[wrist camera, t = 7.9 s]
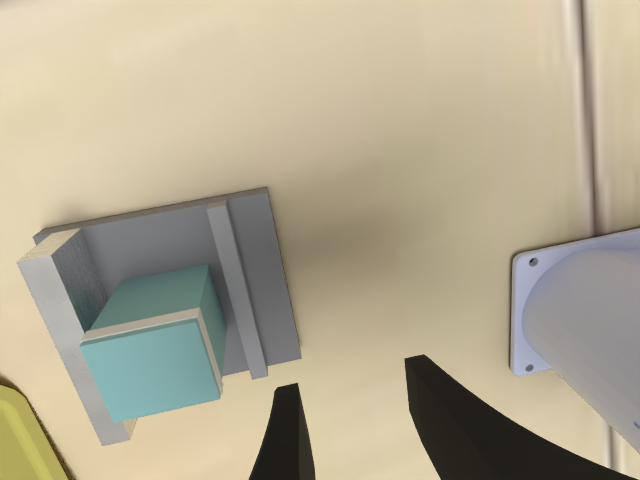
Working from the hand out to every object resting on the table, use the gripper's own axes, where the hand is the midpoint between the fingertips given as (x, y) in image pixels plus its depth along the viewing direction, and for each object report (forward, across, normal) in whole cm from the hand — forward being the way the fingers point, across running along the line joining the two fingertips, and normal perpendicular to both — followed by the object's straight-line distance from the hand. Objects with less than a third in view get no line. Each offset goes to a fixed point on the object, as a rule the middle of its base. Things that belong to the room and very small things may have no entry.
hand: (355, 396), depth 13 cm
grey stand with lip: (+9, +6, 0) cm, 11 cm away
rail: (+8, +10, 0) cm, 13 cm away
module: (+8, +7, 0) cm, 11 cm away
